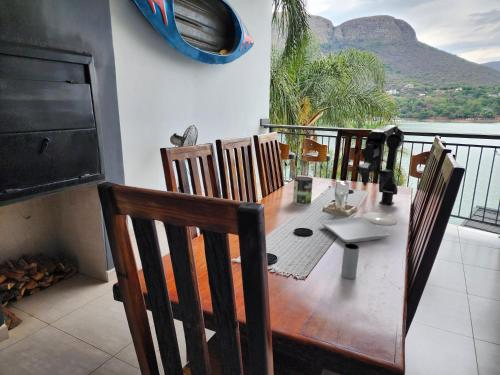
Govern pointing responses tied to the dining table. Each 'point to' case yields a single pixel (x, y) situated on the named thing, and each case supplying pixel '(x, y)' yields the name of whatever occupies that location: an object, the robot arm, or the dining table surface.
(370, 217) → the white flat disc
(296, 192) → the coffee can
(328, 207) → the beech frame
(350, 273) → the planter
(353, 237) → the salad plate
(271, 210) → the dining table surface
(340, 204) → the steel cup
